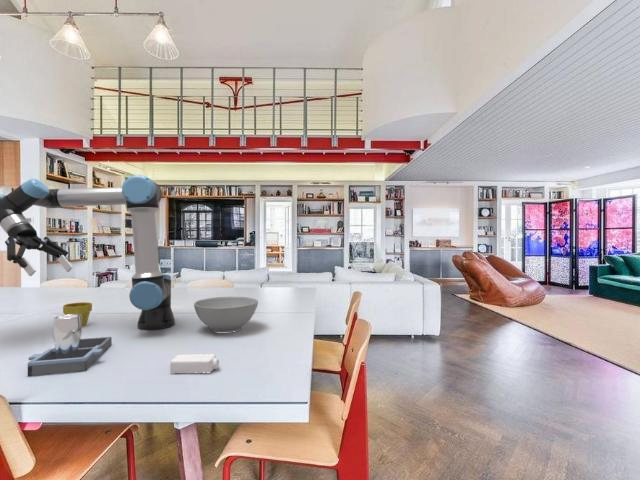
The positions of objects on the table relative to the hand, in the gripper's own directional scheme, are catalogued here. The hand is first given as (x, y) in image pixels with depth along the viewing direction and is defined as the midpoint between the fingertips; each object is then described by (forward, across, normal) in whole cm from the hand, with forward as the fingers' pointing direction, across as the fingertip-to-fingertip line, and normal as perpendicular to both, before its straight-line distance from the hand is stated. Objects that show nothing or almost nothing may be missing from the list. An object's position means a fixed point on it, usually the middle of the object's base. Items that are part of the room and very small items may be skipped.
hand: (52, 271), depth 119 cm
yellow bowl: (+9, -24, -30) cm, 39 cm away
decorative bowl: (+56, -34, +17) cm, 67 cm away
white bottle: (+63, +10, +26) cm, 69 cm away
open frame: (+33, +9, -5) cm, 35 cm away
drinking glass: (+35, +14, -3) cm, 38 cm away
